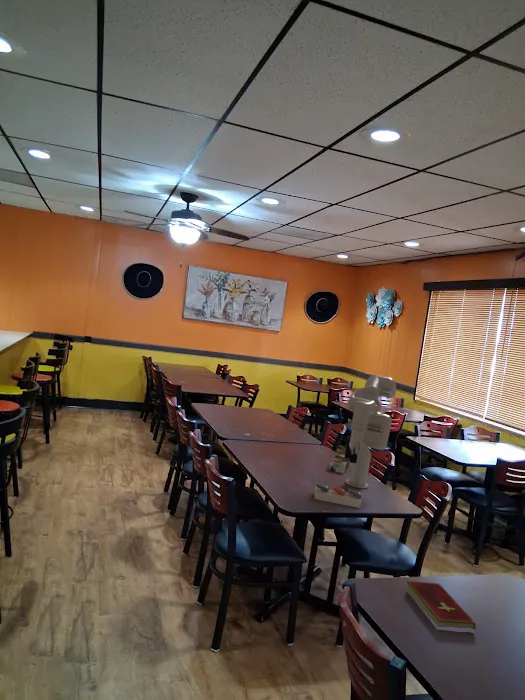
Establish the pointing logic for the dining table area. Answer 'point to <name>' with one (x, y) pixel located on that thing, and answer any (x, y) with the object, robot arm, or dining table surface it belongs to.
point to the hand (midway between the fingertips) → (352, 462)
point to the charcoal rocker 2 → (355, 493)
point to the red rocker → (338, 490)
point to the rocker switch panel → (337, 497)
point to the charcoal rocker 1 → (322, 486)
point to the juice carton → (339, 464)
